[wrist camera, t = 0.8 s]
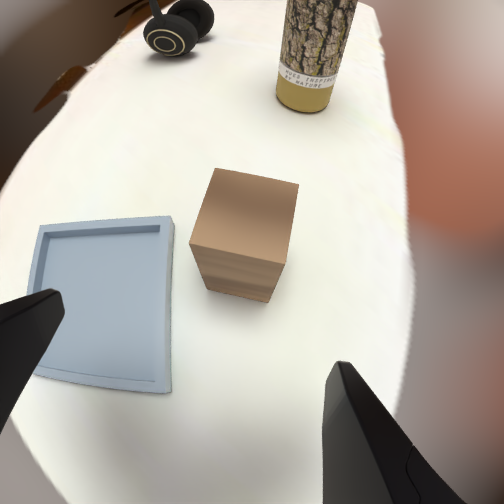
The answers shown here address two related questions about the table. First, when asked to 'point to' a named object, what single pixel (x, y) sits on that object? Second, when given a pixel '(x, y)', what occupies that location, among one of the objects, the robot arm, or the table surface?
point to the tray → (108, 301)
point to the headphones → (178, 26)
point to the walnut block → (243, 233)
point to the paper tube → (312, 51)
